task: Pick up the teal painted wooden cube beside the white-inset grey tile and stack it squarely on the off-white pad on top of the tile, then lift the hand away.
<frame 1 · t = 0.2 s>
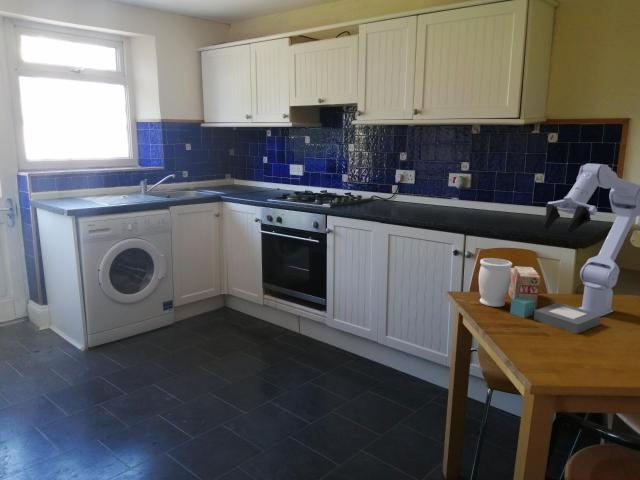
hand: (556, 228, 147), 31 cm above the table, tool tilted 45°, fingers open, 7 cm apart
stack of blocks: (520, 301, 179), on the table
teal cube: (521, 314, 165), on the table
white-inset grey tile: (566, 321, 159), on the table
jar: (492, 303, 175), on the table
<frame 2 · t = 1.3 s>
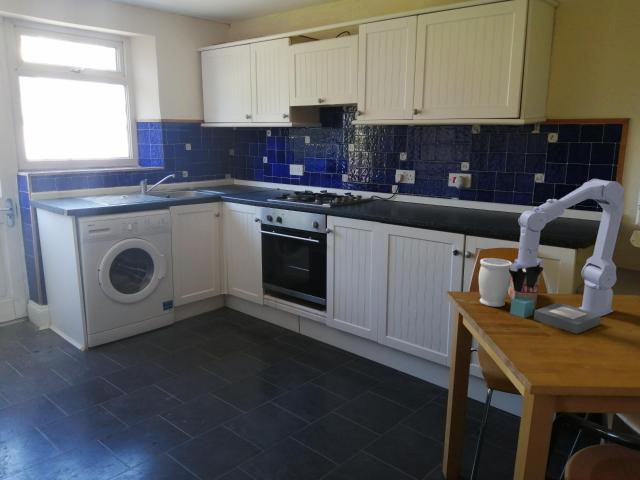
hand: (523, 289, 163), 9 cm above the table, tool pointing down, fingers open, 6 cm apart
stack of blocks: (520, 300, 179), on the table, touching gripper
everything else where it was.
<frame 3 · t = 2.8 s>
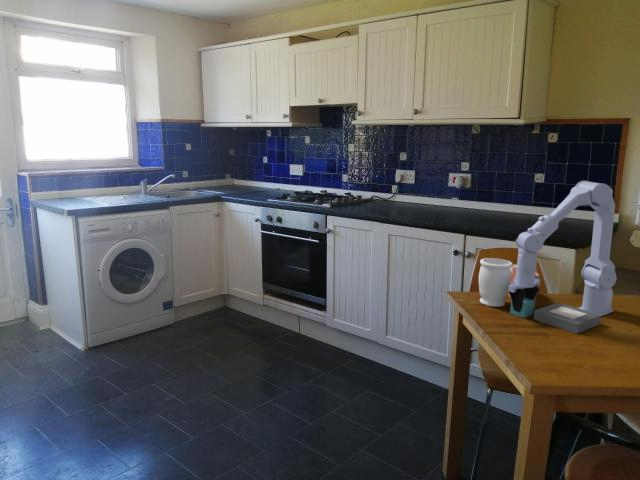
hand: (521, 309, 165), 2 cm above the table, tool pointing down, fingers closed on teal cube, 5 cm apart
stack of blocks: (519, 299, 181), on the table
teal cube: (521, 314, 165), on the table, touching gripper
everything else where it was.
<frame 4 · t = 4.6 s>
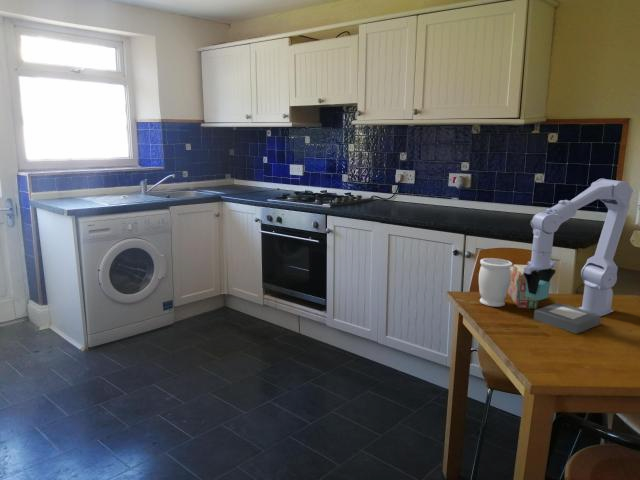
hand: (537, 291, 162), 8 cm above the table, tool pointing down, fingers closed on teal cube, 5 cm apart
teal cube: (536, 296, 162), point 7 cm above the table, touching gripper
everything else where it was.
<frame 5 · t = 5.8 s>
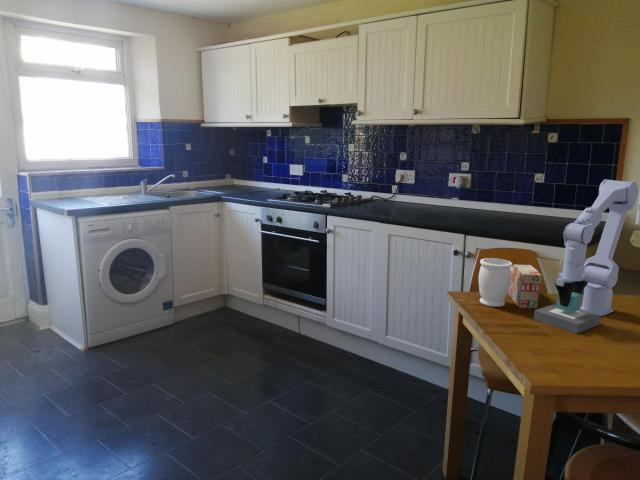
hand: (568, 304, 158), 6 cm above the table, tool pointing down, fingers closed on teal cube, 5 cm apart
teal cube: (567, 308, 158), point 4 cm above the table, touching gripper
everything else where it was.
when the fingers open (6 cm above the table, at t = 6.5 s): teal cube drops 1 cm, resting on white-inset grey tile.
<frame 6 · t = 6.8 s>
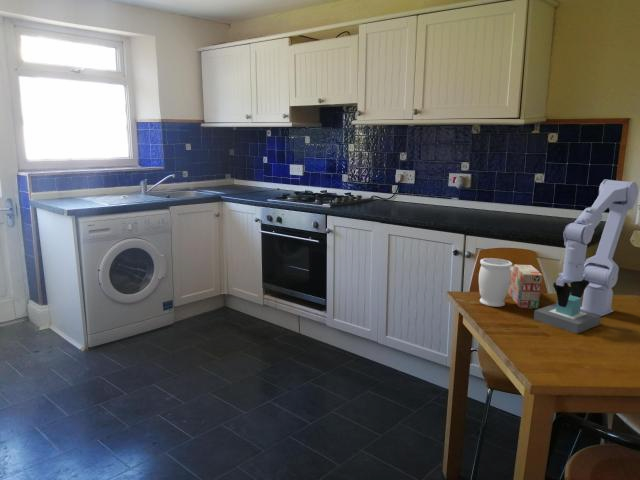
hand: (568, 304, 158), 6 cm above the table, tool pointing down, fingers open, 7 cm apart
teal cube: (567, 312, 159), point 3 cm above the table, touching white-inset grey tile
everything else where it was.
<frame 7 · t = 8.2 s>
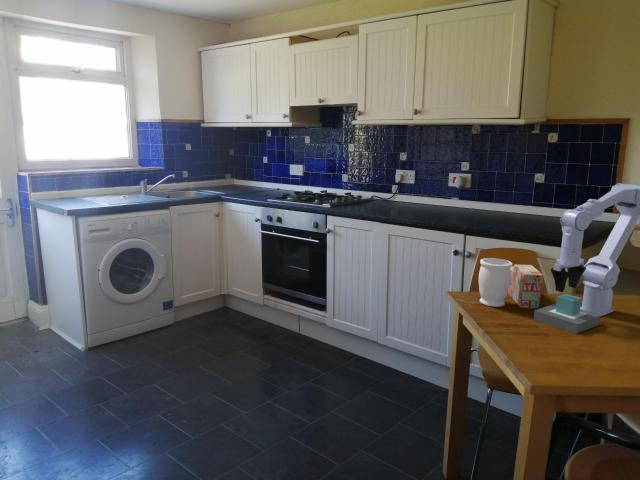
hand: (566, 289, 161), 9 cm above the table, tool pointing down, fingers open, 7 cm apart
nothing on the table moved.
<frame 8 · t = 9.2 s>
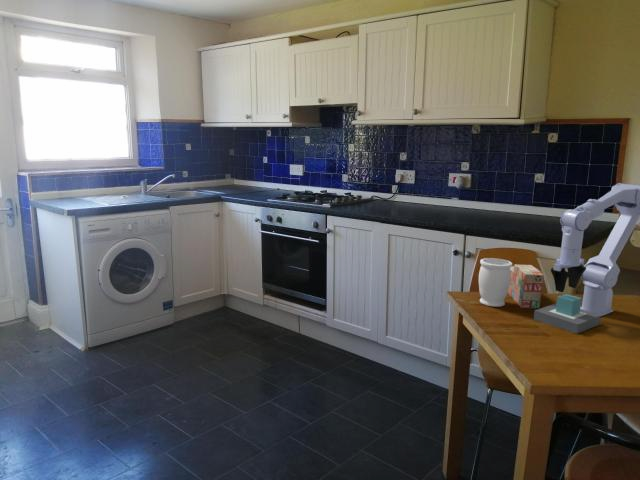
hand: (566, 289, 161), 9 cm above the table, tool pointing down, fingers open, 7 cm apart
nothing on the table moved.
at the end: teal cube 0.0 cm off-centre on the white-inset grey tile, point 3.1 cm above the white-inset grey tile's base; teal cube tilted 0°; the gripper is holding nothing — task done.
